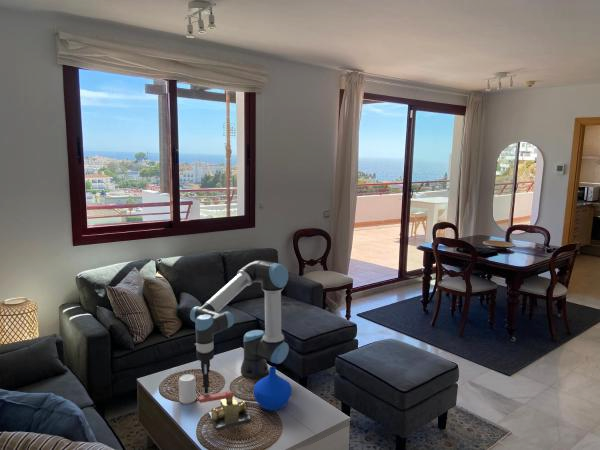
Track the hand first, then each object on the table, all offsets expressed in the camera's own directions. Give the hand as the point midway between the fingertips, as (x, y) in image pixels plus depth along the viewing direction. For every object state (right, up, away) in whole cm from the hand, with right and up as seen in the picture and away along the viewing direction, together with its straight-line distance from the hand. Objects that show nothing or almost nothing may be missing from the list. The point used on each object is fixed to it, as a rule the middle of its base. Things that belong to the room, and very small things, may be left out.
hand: (206, 398), depth 203 cm
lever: (+5, 0, -1) cm, 5 cm away
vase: (+29, -9, +14) cm, 33 cm away
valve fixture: (+10, -10, +3) cm, 15 cm away
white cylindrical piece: (-13, -8, +17) cm, 23 cm away
